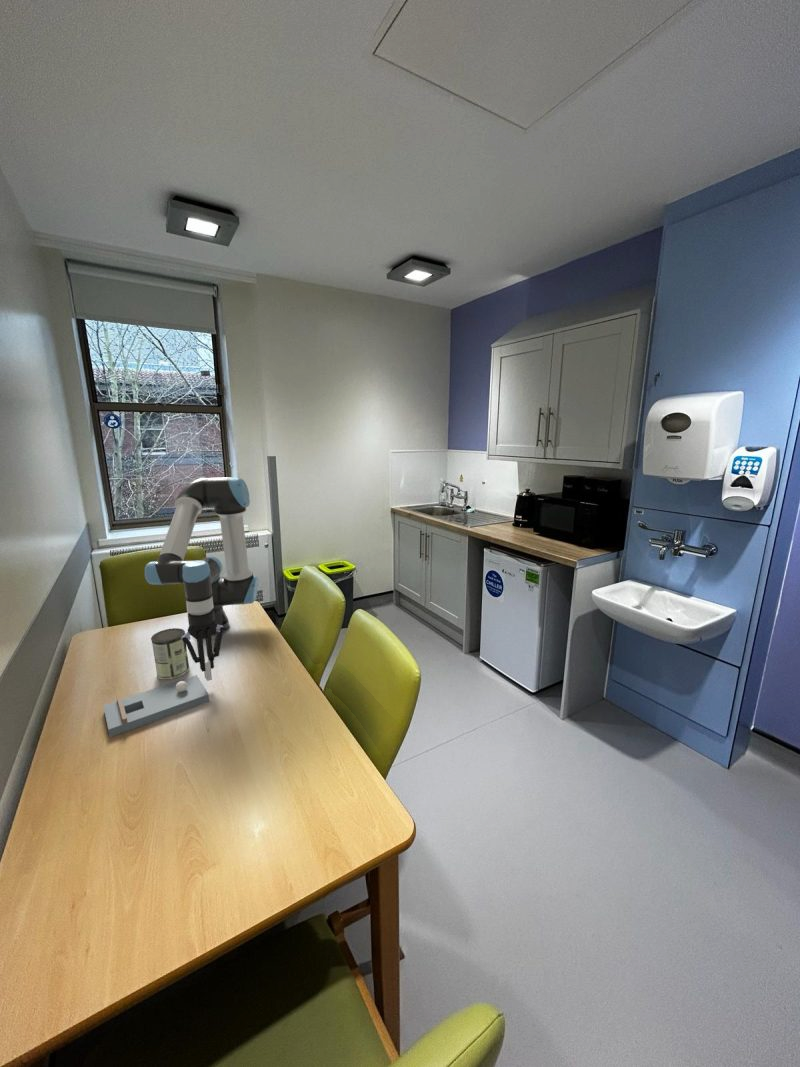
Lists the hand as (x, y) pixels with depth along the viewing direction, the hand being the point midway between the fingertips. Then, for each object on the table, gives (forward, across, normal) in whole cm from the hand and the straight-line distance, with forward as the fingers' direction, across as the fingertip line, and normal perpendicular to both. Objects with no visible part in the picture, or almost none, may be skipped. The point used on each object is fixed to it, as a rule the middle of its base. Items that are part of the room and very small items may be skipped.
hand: (208, 678), depth 139 cm
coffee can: (+4, +7, -19) cm, 21 cm away
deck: (+4, +15, 0) cm, 15 cm away
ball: (0, +8, 0) cm, 8 cm away
